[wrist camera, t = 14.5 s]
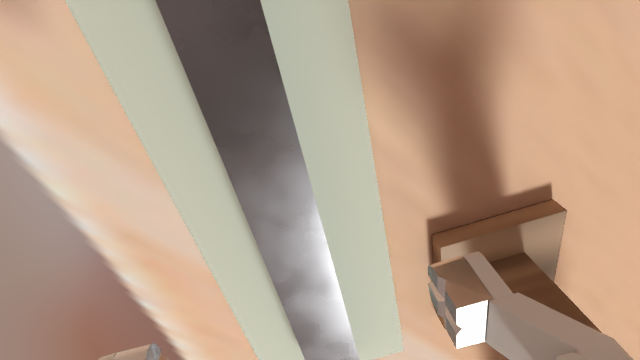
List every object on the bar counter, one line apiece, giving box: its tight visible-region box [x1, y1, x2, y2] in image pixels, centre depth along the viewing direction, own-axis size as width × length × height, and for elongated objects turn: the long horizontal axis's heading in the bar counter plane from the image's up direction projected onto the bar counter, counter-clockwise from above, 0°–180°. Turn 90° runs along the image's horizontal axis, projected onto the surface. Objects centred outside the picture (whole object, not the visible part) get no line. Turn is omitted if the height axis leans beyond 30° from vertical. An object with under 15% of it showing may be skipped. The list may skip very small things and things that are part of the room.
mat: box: [65, 0, 404, 360], centre depth 19 cm, size 34×10×1 cm, turn 12°
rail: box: [155, 0, 359, 360], centre depth 17 cm, size 30×3×3 cm, turn 12°
